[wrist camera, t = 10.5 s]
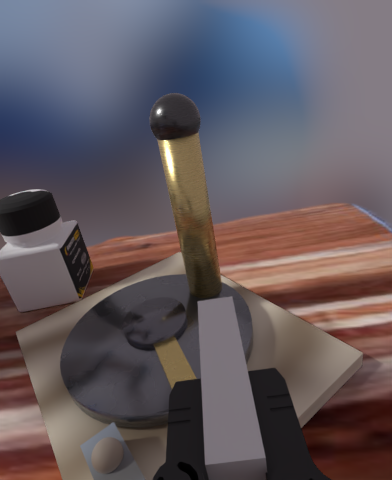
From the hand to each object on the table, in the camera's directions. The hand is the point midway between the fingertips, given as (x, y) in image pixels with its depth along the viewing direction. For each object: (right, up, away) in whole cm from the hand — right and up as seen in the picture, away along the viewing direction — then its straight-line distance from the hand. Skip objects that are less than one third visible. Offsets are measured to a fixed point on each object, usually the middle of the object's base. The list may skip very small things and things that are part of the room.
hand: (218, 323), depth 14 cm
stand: (-4, -6, +13) cm, 14 cm away
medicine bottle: (-17, -2, +25) cm, 30 cm away
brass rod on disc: (-4, -4, +12) cm, 13 cm away
